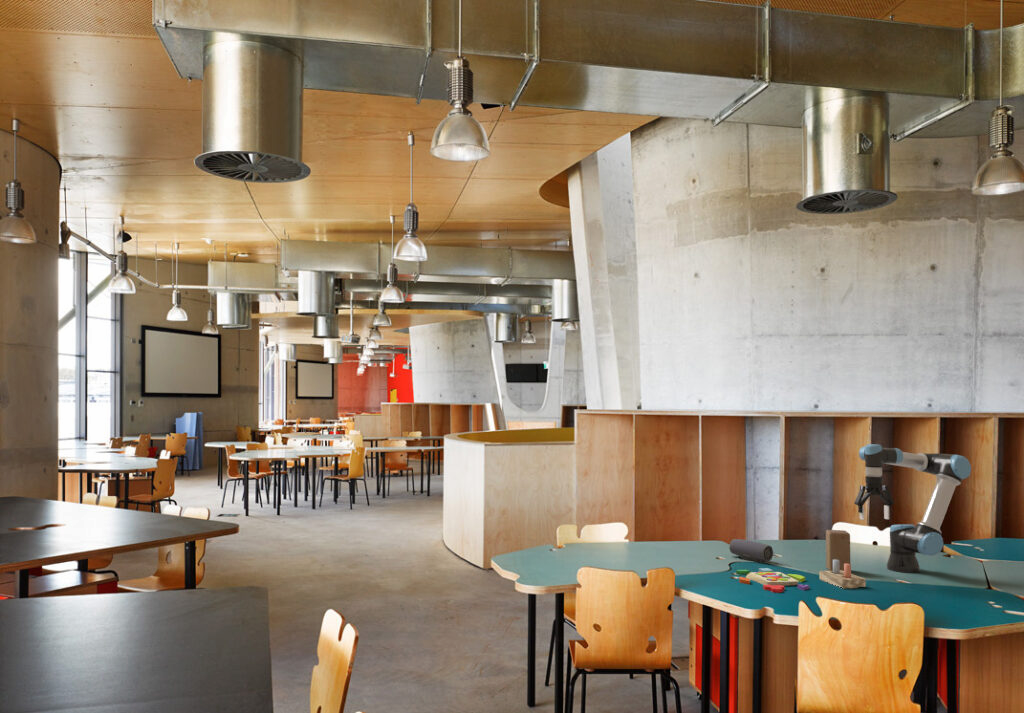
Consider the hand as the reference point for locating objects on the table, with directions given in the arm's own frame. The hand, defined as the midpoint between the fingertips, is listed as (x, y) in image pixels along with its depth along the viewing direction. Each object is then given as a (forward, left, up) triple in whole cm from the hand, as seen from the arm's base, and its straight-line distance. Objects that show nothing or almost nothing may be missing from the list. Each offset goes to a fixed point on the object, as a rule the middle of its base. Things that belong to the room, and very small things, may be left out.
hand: (874, 519), depth 372 cm
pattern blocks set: (+54, -2, -29) cm, 61 cm away
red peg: (+23, +12, -29) cm, 39 cm away
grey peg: (+23, +3, -29) cm, 37 cm away
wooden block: (+8, -18, -29) cm, 35 cm away
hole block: (+23, +7, -29) cm, 37 cm away
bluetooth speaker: (+39, -50, -29) cm, 70 cm away
